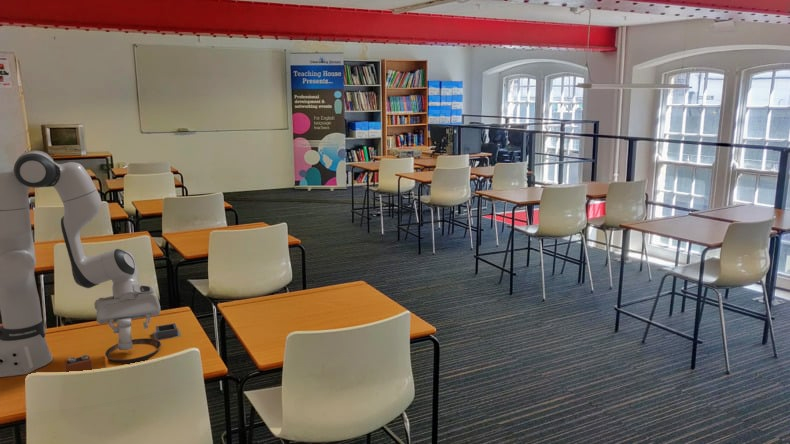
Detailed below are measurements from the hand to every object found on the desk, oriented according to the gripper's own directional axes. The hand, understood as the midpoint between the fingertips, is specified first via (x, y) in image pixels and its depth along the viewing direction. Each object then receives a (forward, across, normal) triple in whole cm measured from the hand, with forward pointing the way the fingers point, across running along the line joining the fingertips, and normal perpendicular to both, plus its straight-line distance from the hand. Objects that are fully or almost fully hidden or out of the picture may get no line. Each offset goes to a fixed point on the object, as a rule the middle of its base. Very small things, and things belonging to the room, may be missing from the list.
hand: (131, 330), depth 202 cm
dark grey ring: (+7, 0, +7) cm, 10 cm away
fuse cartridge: (+4, -2, +5) cm, 7 cm away
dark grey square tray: (-2, +12, +15) cm, 19 cm away
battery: (+20, -16, -6) cm, 26 cm away
